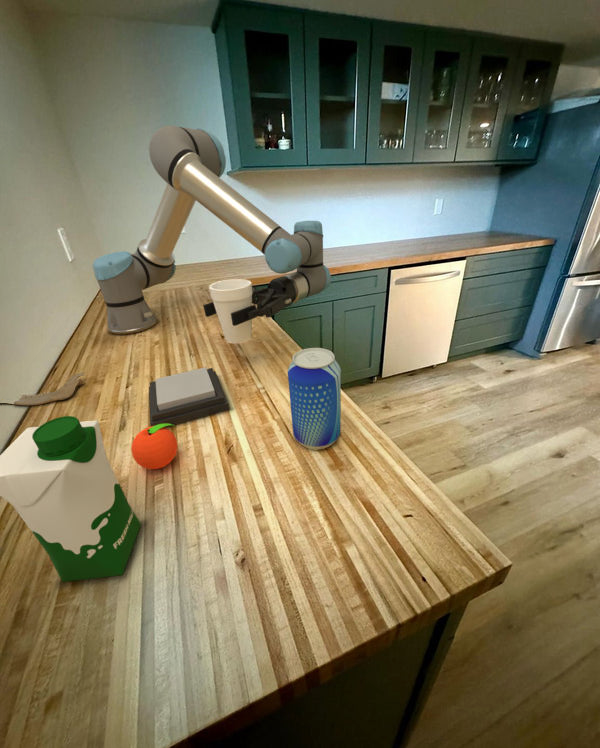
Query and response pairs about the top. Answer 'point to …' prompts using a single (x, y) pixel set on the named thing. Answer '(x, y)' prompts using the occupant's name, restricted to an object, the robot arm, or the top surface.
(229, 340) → the foam cup
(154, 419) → the scale
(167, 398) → the scale platform
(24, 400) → the jawbone
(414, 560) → the top surface
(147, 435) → the clementine
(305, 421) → the beer can
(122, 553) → the milk carton
